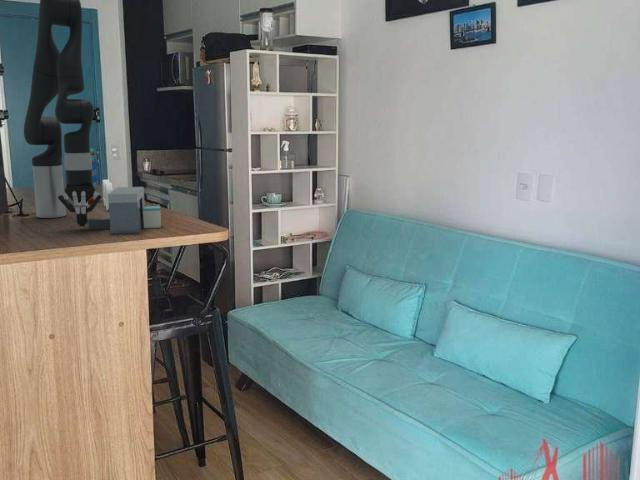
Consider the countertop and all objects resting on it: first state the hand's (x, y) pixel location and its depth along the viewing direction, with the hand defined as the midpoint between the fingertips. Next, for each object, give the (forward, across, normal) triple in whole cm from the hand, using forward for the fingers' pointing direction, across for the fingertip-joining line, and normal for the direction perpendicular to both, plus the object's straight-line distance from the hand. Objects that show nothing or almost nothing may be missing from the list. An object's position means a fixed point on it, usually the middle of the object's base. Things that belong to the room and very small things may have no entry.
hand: (82, 225), depth 192 cm
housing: (+1, -14, 0) cm, 14 cm away
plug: (+1, -12, -1) cm, 12 cm away
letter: (+1, 0, -46) cm, 46 cm away
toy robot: (+1, +10, -63) cm, 64 cm away
